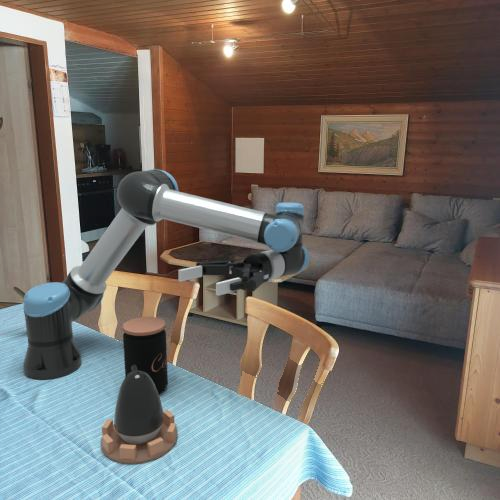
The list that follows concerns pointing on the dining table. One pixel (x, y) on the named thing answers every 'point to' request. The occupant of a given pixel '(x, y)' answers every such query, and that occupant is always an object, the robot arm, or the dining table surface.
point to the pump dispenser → (138, 408)
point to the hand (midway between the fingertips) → (197, 282)
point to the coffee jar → (146, 349)
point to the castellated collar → (143, 452)
